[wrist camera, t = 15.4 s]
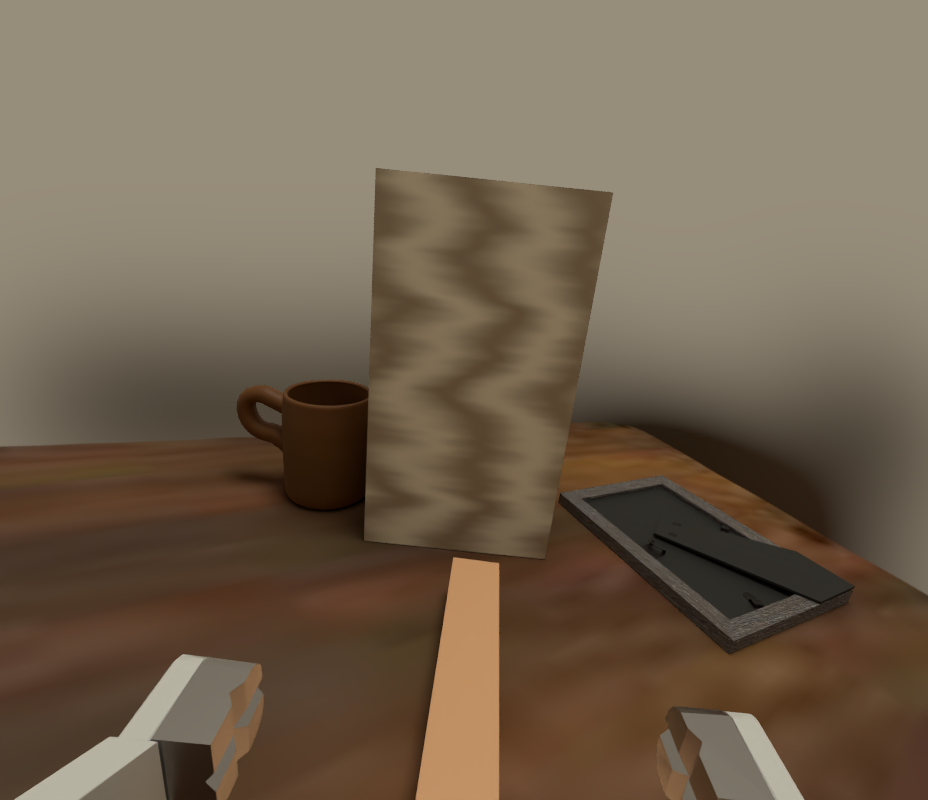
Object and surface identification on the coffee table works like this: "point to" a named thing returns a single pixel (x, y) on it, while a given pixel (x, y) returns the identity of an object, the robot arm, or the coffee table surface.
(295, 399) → the mug
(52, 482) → the coffee table surface
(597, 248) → the pedestal
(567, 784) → the coffee table surface
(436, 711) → the t bar
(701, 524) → the picture frame
